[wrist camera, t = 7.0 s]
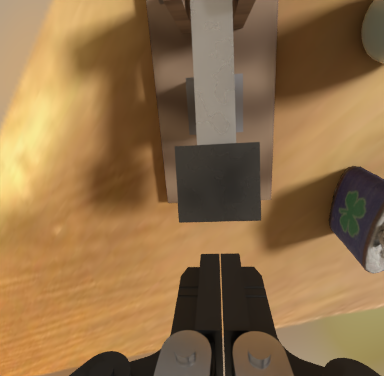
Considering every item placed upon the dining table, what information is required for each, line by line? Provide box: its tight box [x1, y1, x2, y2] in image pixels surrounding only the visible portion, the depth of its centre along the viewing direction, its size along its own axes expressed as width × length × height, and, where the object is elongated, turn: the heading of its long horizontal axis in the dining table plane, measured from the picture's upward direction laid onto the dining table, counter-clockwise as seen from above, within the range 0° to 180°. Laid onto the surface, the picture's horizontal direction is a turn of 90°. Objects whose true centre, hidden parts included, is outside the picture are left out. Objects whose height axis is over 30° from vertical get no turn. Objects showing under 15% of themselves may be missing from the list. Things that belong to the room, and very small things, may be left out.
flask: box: [329, 166, 384, 273], centre depth 29 cm, size 9×3×11 cm, turn 175°
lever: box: [175, 0, 261, 222], centre depth 21 cm, size 19×6×2 cm, turn 4°
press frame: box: [146, 0, 278, 203], centre depth 25 cm, size 24×13×12 cm, turn 4°
